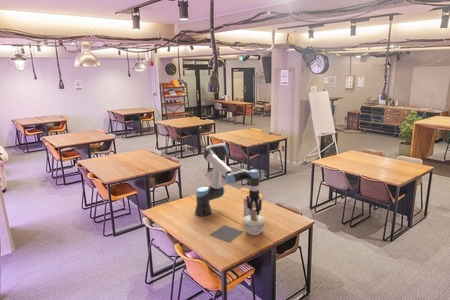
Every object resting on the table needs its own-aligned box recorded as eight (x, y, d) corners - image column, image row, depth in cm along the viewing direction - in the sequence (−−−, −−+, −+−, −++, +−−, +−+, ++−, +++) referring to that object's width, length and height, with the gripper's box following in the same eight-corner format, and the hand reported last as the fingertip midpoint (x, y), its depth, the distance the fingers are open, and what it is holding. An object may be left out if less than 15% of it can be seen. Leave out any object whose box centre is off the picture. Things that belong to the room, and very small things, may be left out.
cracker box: (247, 223, 262) (247, 200, 257) (243, 220, 267) (243, 197, 262) (260, 218, 270) (260, 196, 264) (256, 216, 275) (256, 194, 269)
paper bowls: (263, 238, 238) (263, 228, 236) (243, 236, 241) (243, 227, 239) (264, 228, 253) (264, 219, 251) (245, 227, 256) (245, 218, 254)
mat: (208, 235, 244) (208, 235, 244) (223, 225, 259) (223, 224, 259) (229, 243, 232) (229, 242, 232) (244, 232, 248) (244, 231, 248)
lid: (239, 221, 243) (239, 210, 240) (250, 213, 256) (250, 202, 253) (258, 227, 233) (258, 215, 230) (268, 219, 246) (269, 207, 244)
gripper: (242, 189, 240) (242, 216, 246) (261, 193, 230) (261, 222, 236) (247, 186, 246) (247, 213, 252) (266, 190, 236) (266, 218, 242)
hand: (254, 217), depth 244 cm, fingers closed on lid, 4 cm apart
